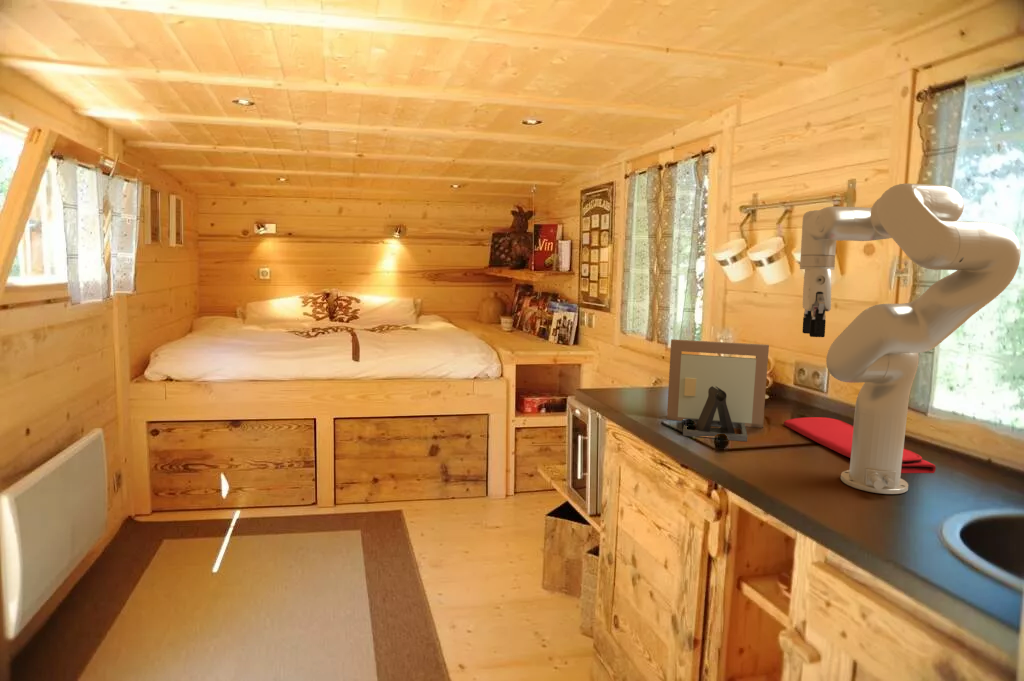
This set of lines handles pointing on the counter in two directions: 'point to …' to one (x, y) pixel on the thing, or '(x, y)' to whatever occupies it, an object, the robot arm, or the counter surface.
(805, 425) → the dish drying mat
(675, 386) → the tan picture frame
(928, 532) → the counter surface
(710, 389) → the phone stand
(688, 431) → the grey flat square frame
